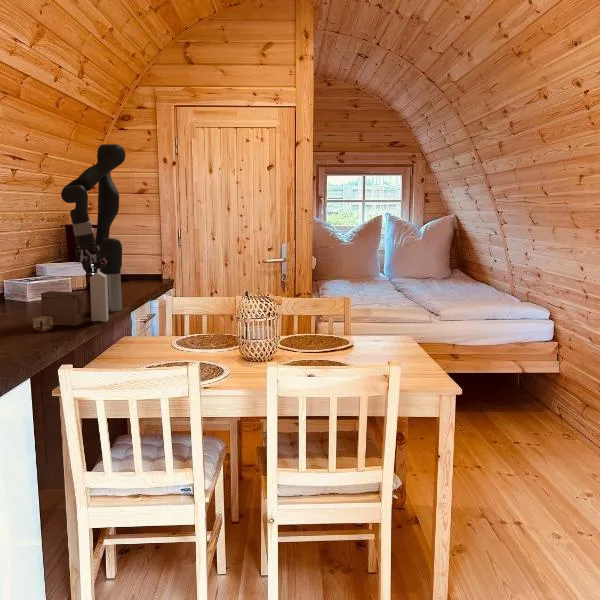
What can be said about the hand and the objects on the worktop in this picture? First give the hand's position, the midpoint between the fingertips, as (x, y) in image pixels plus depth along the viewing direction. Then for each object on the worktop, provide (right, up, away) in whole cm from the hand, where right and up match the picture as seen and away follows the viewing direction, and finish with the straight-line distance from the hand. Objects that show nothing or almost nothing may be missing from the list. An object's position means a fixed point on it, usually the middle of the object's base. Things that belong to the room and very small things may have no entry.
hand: (92, 269), depth 255 cm
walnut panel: (-7, -23, -14) cm, 28 cm away
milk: (+5, -22, -5) cm, 23 cm away
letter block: (-10, -25, -25) cm, 37 cm away
